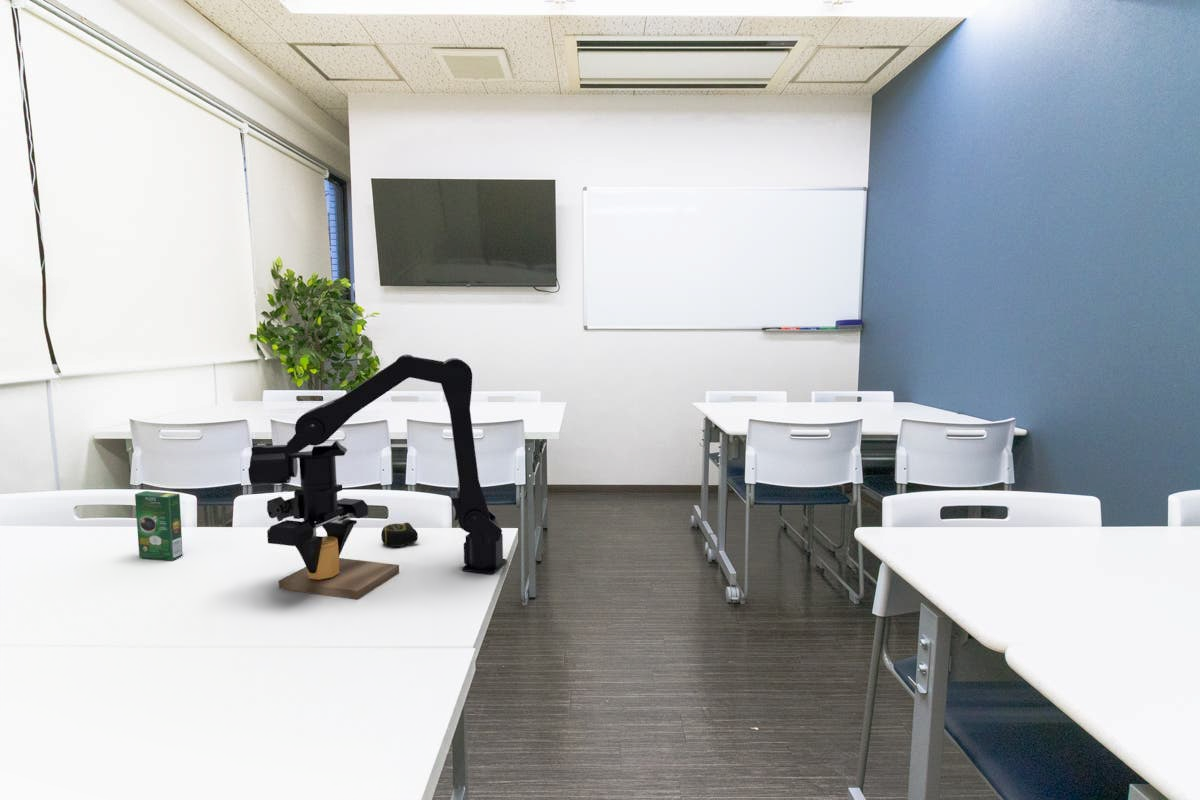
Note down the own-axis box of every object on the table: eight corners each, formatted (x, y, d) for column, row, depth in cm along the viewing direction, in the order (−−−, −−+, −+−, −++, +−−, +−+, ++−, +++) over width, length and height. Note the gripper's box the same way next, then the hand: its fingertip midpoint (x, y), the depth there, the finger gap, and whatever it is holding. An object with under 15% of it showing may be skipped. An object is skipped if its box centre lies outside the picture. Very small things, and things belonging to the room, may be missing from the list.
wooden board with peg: (399, 572, 115) (398, 538, 115) (357, 599, 104) (355, 562, 103) (326, 563, 120) (325, 531, 119) (279, 588, 108) (276, 552, 107)
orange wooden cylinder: (345, 569, 112) (343, 537, 111) (325, 580, 107) (323, 547, 106) (321, 566, 113) (320, 535, 113) (301, 577, 108) (299, 544, 108)
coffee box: (185, 556, 124) (180, 492, 122) (173, 561, 121) (168, 496, 120) (151, 553, 125) (146, 490, 124) (138, 558, 123) (132, 493, 121)
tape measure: (418, 546, 130) (418, 528, 130) (384, 551, 127) (384, 533, 126) (412, 536, 136) (411, 520, 136) (379, 541, 133) (378, 524, 132)
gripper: (318, 467, 119) (322, 545, 121) (237, 491, 102) (243, 582, 103) (367, 470, 116) (371, 551, 118) (293, 496, 99) (298, 590, 100)
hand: (323, 567), depth 110 cm, fingers closed on orange wooden cylinder, 5 cm apart
